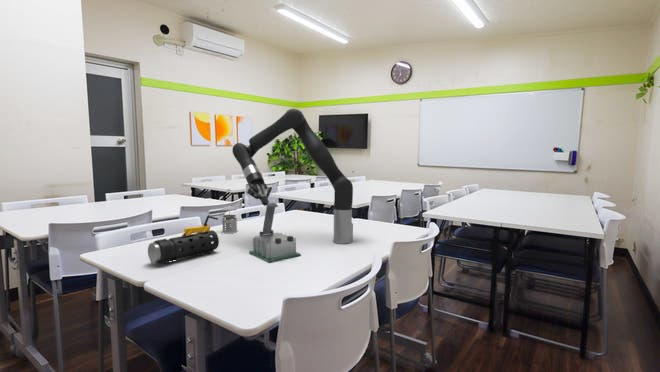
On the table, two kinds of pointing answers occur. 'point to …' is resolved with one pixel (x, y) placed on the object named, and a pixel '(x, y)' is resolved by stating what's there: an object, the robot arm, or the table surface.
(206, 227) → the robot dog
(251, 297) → the table surface
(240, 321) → the table surface
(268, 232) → the grey lever
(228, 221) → the french press
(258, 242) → the board
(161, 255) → the muzzle brake
